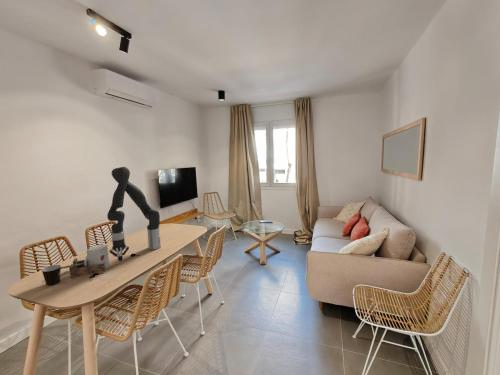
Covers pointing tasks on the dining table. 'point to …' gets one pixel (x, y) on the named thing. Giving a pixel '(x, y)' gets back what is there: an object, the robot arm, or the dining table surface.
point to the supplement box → (98, 255)
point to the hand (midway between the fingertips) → (120, 260)
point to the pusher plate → (78, 264)
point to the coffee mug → (52, 274)
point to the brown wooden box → (84, 269)
